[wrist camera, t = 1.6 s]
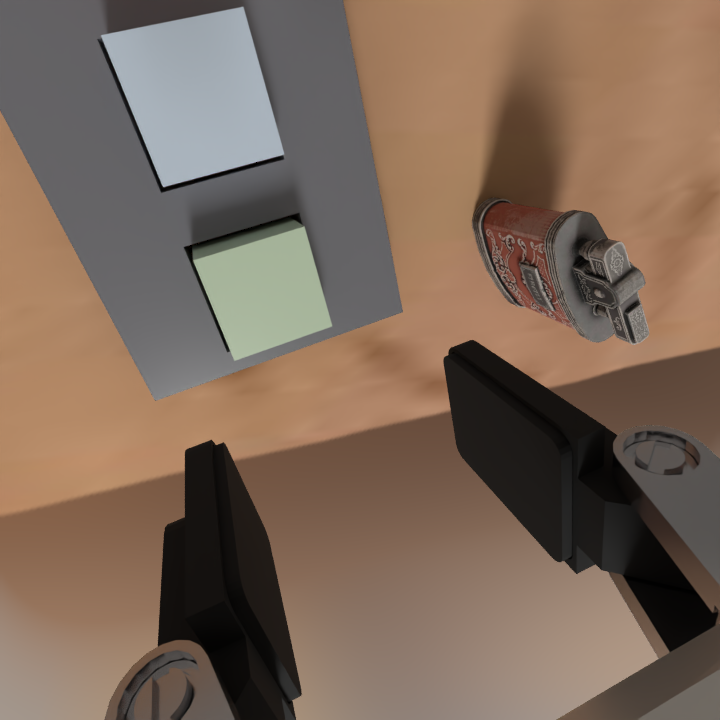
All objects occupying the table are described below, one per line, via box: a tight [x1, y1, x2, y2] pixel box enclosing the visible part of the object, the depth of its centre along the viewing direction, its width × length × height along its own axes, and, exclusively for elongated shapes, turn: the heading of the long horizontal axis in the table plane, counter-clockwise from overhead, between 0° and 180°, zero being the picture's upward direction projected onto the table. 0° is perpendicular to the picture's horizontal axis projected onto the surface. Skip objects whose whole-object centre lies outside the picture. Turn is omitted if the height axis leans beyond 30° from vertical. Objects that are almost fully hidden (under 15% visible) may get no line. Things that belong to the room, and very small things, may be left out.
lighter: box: [472, 198, 649, 345], centre depth 26 cm, size 8×3×10 cm, turn 34°
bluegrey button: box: [101, 7, 284, 187], centre depth 19 cm, size 5×5×3 cm
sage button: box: [192, 217, 332, 361], centre depth 22 cm, size 5×5×3 cm
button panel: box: [0, 0, 403, 401], centre depth 20 cm, size 14×24×3 cm, turn 14°
